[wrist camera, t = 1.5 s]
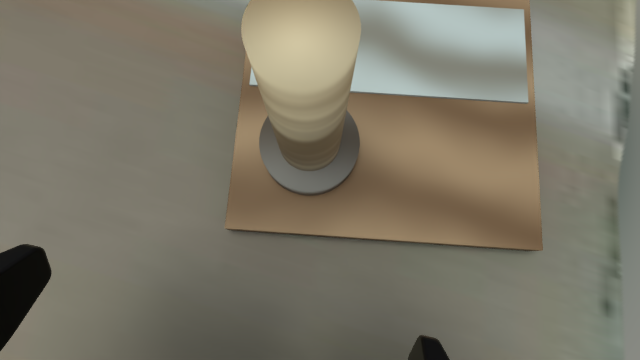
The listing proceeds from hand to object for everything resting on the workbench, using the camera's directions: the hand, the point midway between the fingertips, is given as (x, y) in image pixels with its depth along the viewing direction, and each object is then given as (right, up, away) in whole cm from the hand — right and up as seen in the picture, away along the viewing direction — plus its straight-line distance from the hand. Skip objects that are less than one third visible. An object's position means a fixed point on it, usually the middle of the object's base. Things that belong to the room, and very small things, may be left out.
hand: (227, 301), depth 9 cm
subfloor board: (+6, +8, +15) cm, 18 cm away
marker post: (+2, +5, +14) cm, 14 cm away
